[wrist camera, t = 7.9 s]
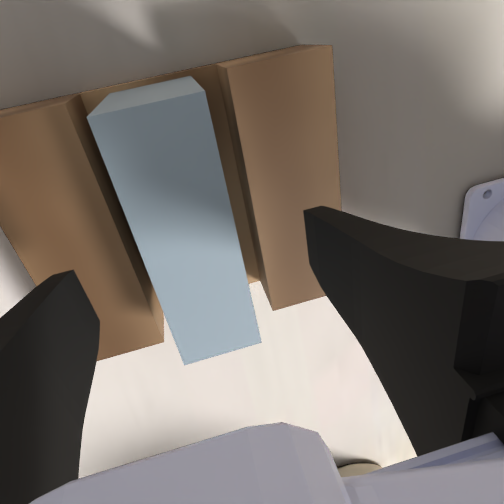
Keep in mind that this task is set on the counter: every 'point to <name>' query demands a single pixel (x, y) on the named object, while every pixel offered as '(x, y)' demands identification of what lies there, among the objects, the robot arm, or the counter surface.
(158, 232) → the pale blue tapered bar
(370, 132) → the counter surface
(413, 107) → the counter surface
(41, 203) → the slot block
